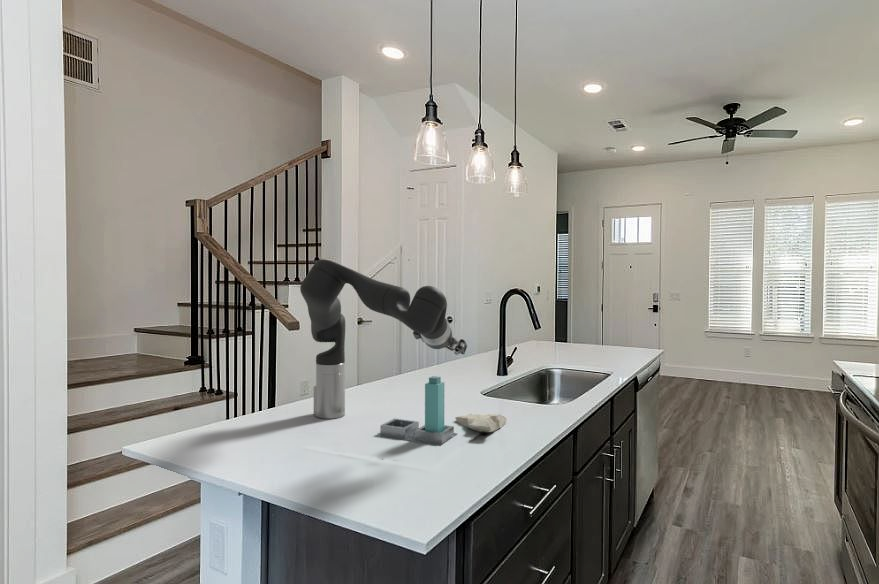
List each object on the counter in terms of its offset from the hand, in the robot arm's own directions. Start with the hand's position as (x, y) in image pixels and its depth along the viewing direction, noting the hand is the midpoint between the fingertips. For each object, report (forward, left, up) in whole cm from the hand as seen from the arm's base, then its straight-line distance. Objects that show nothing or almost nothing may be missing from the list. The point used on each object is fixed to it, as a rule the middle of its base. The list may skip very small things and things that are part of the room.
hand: (443, 346), depth 145 cm
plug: (-1, -2, -25) cm, 25 cm away
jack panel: (-7, -2, -26) cm, 27 cm away
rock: (+5, +15, -27) cm, 31 cm away
